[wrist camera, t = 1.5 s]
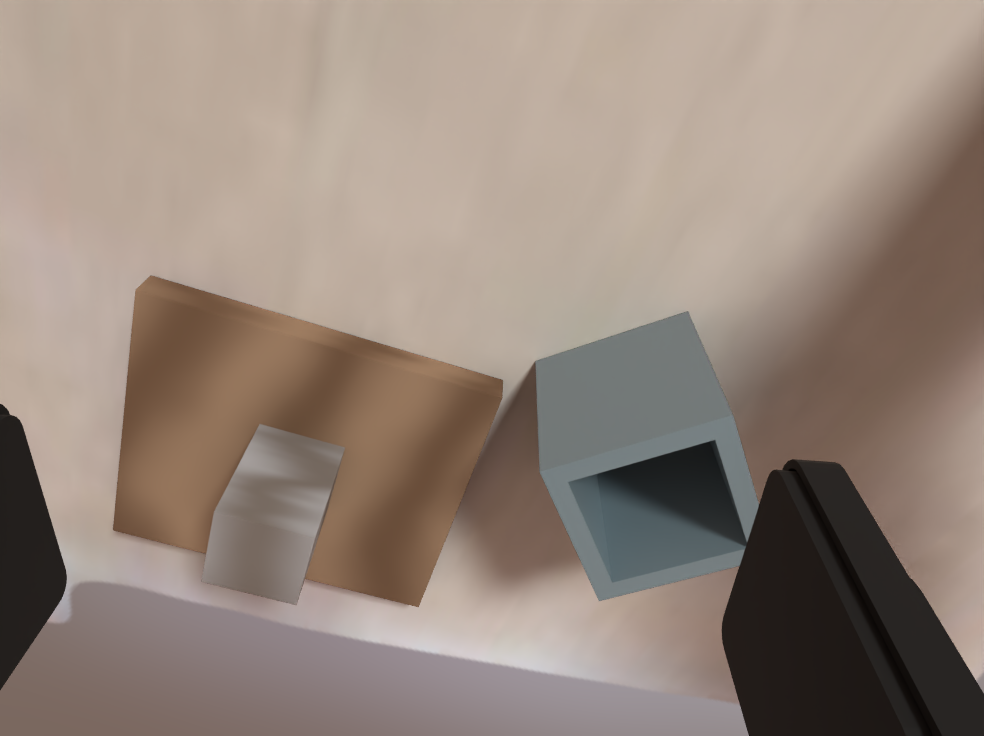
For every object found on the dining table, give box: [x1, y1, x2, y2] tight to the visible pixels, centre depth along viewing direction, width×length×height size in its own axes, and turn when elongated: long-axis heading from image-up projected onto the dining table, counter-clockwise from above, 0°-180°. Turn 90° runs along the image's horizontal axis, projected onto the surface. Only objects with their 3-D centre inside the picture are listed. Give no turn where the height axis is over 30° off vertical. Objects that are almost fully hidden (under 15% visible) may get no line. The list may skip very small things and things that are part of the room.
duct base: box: [113, 276, 503, 607], centre depth 34 cm, size 16×14×8 cm
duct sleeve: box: [536, 311, 759, 601], centre depth 32 cm, size 7×7×8 cm
